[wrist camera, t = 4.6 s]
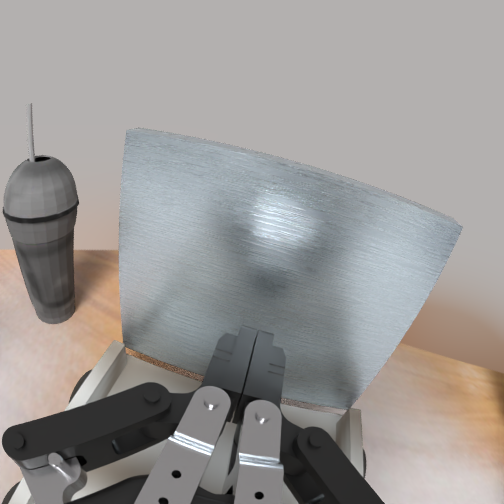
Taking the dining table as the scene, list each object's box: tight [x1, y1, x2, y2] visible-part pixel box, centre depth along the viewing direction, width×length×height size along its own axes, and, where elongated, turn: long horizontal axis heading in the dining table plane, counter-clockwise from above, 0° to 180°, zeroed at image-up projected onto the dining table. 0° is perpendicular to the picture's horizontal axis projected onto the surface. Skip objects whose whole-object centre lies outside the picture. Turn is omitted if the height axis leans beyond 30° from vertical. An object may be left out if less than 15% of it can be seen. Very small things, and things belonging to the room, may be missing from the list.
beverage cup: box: [3, 104, 79, 324], centre depth 21 cm, size 7×7×20 cm
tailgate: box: [119, 128, 463, 410], centre depth 16 cm, size 2×16×14 cm, turn 80°
